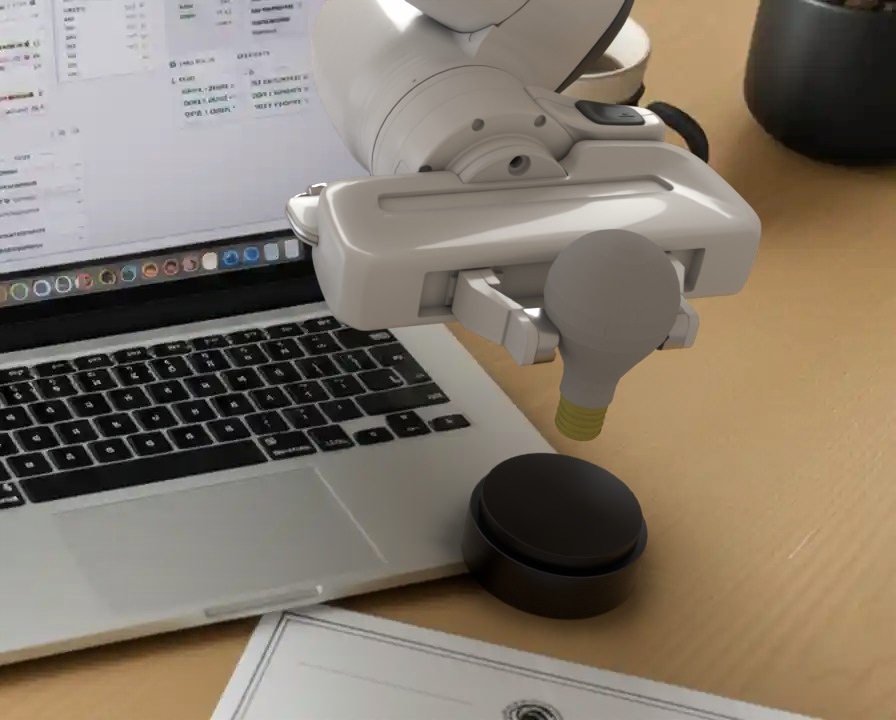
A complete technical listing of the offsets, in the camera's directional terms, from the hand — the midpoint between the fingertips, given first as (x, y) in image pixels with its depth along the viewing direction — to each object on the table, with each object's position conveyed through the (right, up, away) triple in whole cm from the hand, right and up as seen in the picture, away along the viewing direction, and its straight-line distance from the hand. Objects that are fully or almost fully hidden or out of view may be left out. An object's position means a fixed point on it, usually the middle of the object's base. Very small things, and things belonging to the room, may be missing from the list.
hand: (613, 343), depth 68 cm
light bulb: (-1, -4, +4) cm, 6 cm away
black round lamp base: (-1, -10, +8) cm, 13 cm away
